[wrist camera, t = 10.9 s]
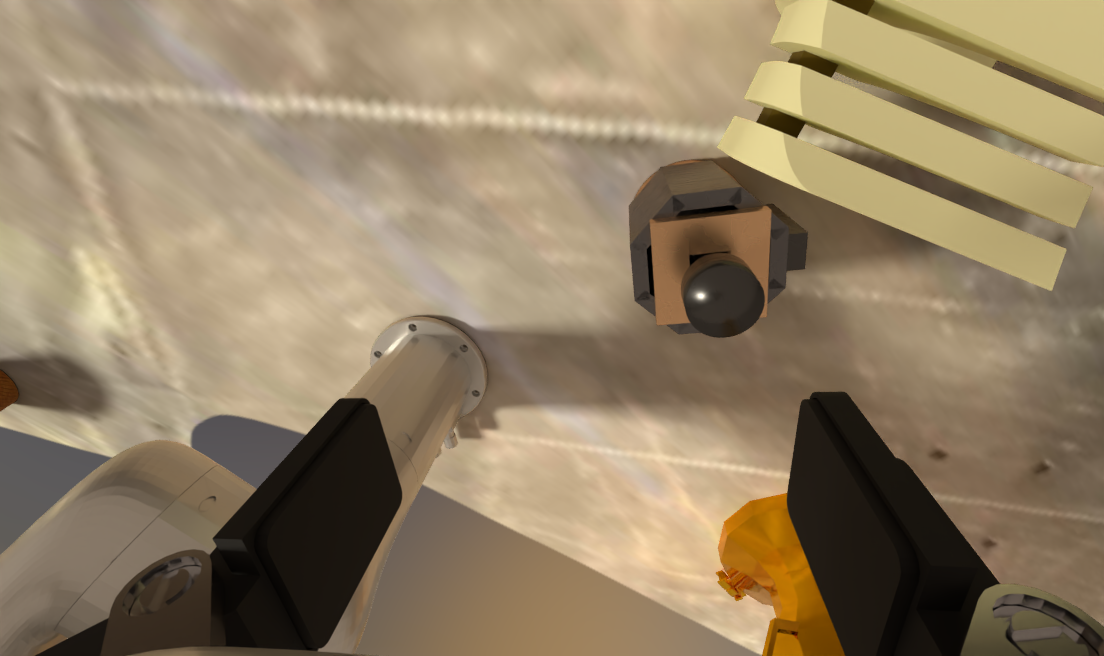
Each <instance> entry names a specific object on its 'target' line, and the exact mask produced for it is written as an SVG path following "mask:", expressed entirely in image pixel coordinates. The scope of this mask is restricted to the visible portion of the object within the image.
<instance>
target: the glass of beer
mask: <svg viewBox="0 0 1104 656" xmlns="http://www.w3.org/2000/svg"><path fill="white" fill-rule="evenodd" d="M17 399H18V390H17V388H16V386H15V384H14V383H13V381H12V380H11V379H10V378H9V377H8V376H7V375H6V374H5V373H4V372H2V371H1V370H0V411H2V410H3V409H5V408H6V407H8V406H9V405H11V404H12V403H14V402H15V401H17Z"/></svg>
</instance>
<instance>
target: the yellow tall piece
mask: <svg viewBox="0 0 1104 656" xmlns="http://www.w3.org/2000/svg"><path fill="white" fill-rule="evenodd" d="M718 551H719V556H720V561H721V563H722V565H723V567H724V569H725V571H726V572H727V574H728V576H729V577H728V576H727V575H726V574H725V573H724V572H723V571H722V570H721V571H718V572H716V574H717V575H718V576H719V580H720V581H717V582H718V583H719V584H720V585H721V586H722V587H723V588H724V589H725V590H726V591H727V592H728V593H729V594H730V595H731V596H732V597H735V600H736V601H739V600H741V599H743V598H742V597H744V596H746V594H747V595H749V596H750V597H752V598H754V599H755V600H757V601H759V602H760V603H762V604H765V605H770V606H773V607H774V611H775V614H776V618H774V619H772V620H771V621H770V624H769V629H768V633H767V637H766V641H765V645H764V650H763V654H762V656H845V654H844V651H843V649H842V646H841V644H840V641H839V639H838V636H837V634H836V631H835V629H834V626H833V624H832V621H831V619H830V616H829V614H828V611H827V609H826V606H825V604H824V601H823V599H822V596H821V594H820V591H819V589H818V586H817V584H816V581H815V579H814V576H813V574H812V571H811V569H810V566H809V564H808V561H807V559H806V556H805V554H804V551H803V549H802V546H801V544H800V541H799V539H798V536H797V534H796V531H795V529H794V526H793V524H792V521H791V519H790V516H789V513H788V509H787V493H785V494H780V495H776V496H771V497H766V498H762V499H757V500H753V501H749V502H748V503H747V504H746V505H744V506H743V507H742V508H741V509H739V510H738V511H737V512H736V513H734V514H733V515H732V516H731V517H729V518H728V519H727V520H726V521H724V524H723V529H722V533H721V537H720V541H719V545H718ZM729 578H730V579H729ZM727 579H729V580H727ZM745 593H746V594H745Z"/></svg>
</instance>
